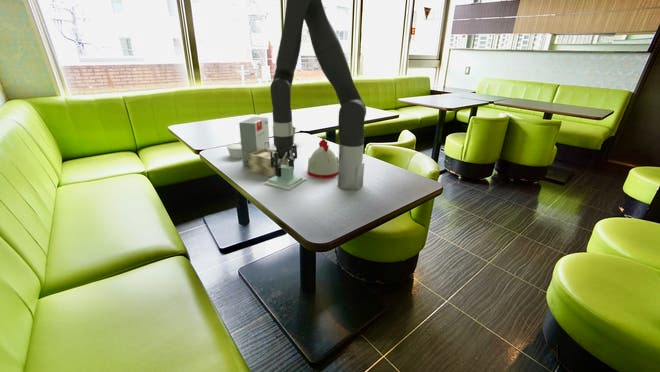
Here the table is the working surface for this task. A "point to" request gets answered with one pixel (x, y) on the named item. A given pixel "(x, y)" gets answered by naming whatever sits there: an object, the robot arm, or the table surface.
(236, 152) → the ramekin
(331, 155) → the kitchen timer
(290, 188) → the mat
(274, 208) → the table surface
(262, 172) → the crate
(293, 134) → the plant pot
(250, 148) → the hard drive box
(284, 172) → the lid
